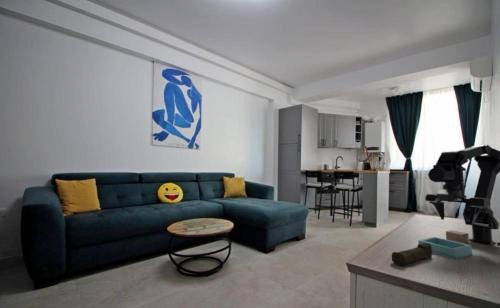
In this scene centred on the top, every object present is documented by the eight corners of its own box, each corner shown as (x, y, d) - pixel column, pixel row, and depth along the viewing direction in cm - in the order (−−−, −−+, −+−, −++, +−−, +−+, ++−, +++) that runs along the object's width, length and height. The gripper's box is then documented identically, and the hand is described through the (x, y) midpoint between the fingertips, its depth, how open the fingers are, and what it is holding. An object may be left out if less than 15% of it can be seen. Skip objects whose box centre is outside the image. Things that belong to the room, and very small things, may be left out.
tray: (435, 244, 88) (434, 237, 88) (472, 254, 78) (471, 245, 79) (418, 248, 84) (418, 240, 84) (455, 259, 74) (455, 249, 74)
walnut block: (453, 242, 92) (452, 230, 92) (469, 246, 87) (468, 233, 88) (446, 244, 90) (445, 231, 90) (462, 248, 85) (461, 234, 86)
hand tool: (404, 268, 66) (403, 252, 67) (391, 263, 70) (390, 248, 70) (441, 259, 74) (440, 245, 74) (427, 255, 77) (426, 241, 78)
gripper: (416, 181, 96) (418, 219, 94) (475, 183, 79) (478, 229, 78) (431, 181, 100) (433, 216, 99) (489, 183, 84) (492, 226, 82)
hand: (456, 221), depth 89 cm, fingers open, 9 cm apart
